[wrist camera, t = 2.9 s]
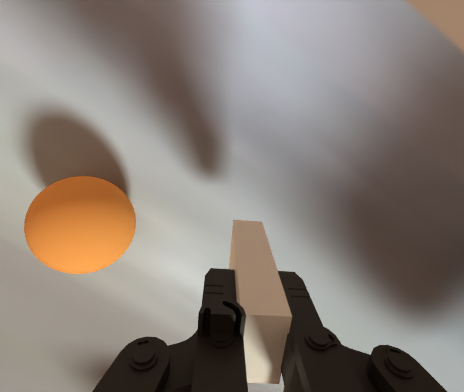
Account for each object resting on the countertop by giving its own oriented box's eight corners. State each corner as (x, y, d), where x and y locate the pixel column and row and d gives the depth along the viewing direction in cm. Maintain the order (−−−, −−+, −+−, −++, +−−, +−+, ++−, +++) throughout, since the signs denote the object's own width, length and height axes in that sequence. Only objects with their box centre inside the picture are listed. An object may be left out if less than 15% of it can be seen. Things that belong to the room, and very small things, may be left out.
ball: (146, 170, 17) (110, 197, 12) (147, 245, 19) (117, 298, 14) (58, 163, 17) (-17, 188, 12) (68, 240, 19) (6, 292, 13)
